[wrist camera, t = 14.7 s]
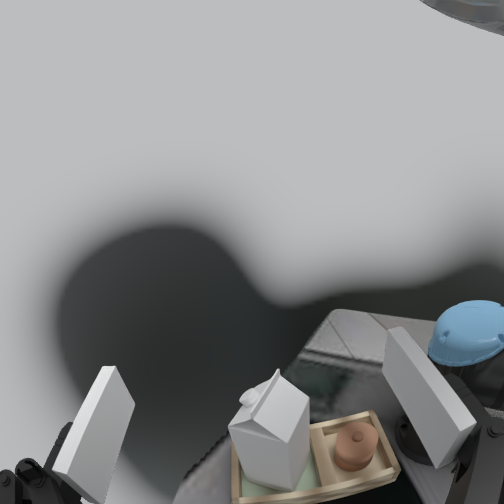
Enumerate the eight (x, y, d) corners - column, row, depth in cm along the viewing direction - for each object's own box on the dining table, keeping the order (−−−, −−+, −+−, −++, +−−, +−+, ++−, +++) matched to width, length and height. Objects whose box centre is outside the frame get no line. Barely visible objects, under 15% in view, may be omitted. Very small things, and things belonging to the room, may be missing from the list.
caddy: (370, 423, 41) (376, 396, 38) (394, 481, 28) (407, 458, 26) (235, 447, 41) (227, 423, 39) (236, 512, 28) (226, 495, 26)
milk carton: (309, 458, 35) (308, 373, 30) (292, 494, 30) (285, 421, 24) (267, 448, 39) (250, 363, 33) (246, 481, 33) (219, 403, 27)
